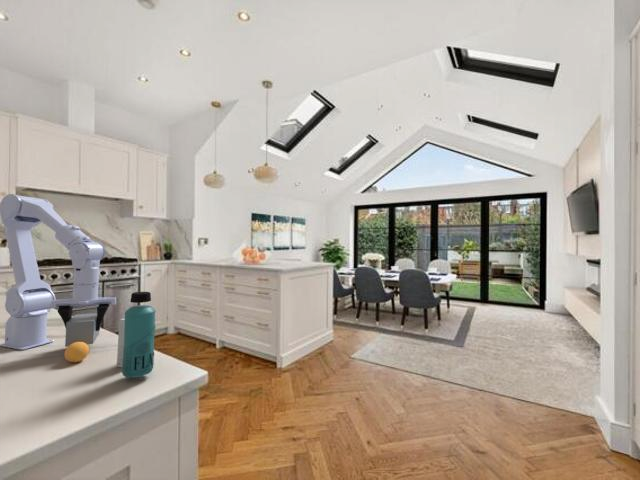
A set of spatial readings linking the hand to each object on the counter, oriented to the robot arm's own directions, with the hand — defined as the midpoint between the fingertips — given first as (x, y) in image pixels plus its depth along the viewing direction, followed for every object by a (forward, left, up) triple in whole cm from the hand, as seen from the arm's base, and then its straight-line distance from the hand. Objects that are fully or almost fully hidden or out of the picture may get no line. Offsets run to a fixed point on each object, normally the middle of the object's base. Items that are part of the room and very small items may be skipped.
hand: (83, 331), depth 86 cm
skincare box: (+21, -2, -6) cm, 22 cm away
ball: (+7, -6, -3) cm, 10 cm away
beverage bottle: (+29, -8, -6) cm, 31 cm away
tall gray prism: (0, 0, -3) cm, 2 cm away
